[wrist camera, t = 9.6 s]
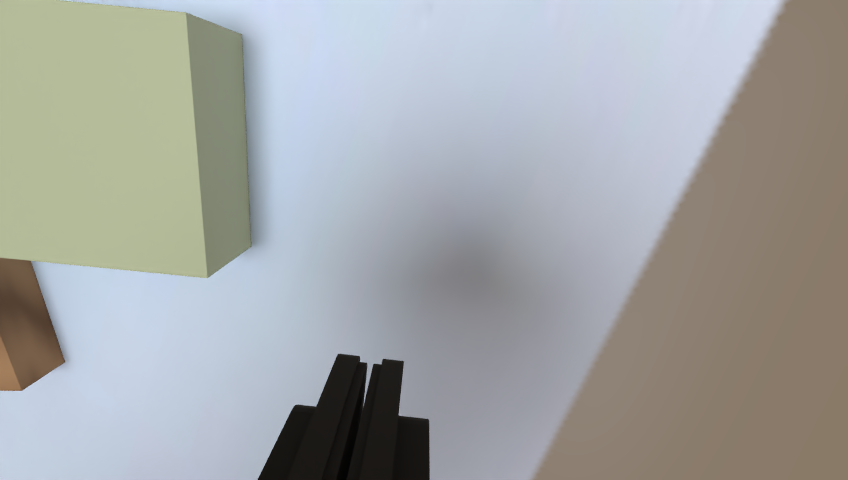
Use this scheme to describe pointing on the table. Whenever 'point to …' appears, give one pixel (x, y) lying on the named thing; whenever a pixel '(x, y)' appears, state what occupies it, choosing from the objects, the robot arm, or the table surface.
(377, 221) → the table surface
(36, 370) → the board
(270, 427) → the table surface
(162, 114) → the slab
